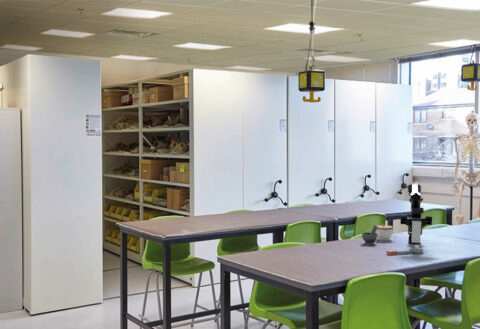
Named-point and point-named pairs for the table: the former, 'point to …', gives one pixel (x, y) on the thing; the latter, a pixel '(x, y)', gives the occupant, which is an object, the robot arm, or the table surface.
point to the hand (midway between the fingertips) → (416, 231)
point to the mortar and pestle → (370, 236)
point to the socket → (416, 231)
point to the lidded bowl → (384, 232)
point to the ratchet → (406, 251)
